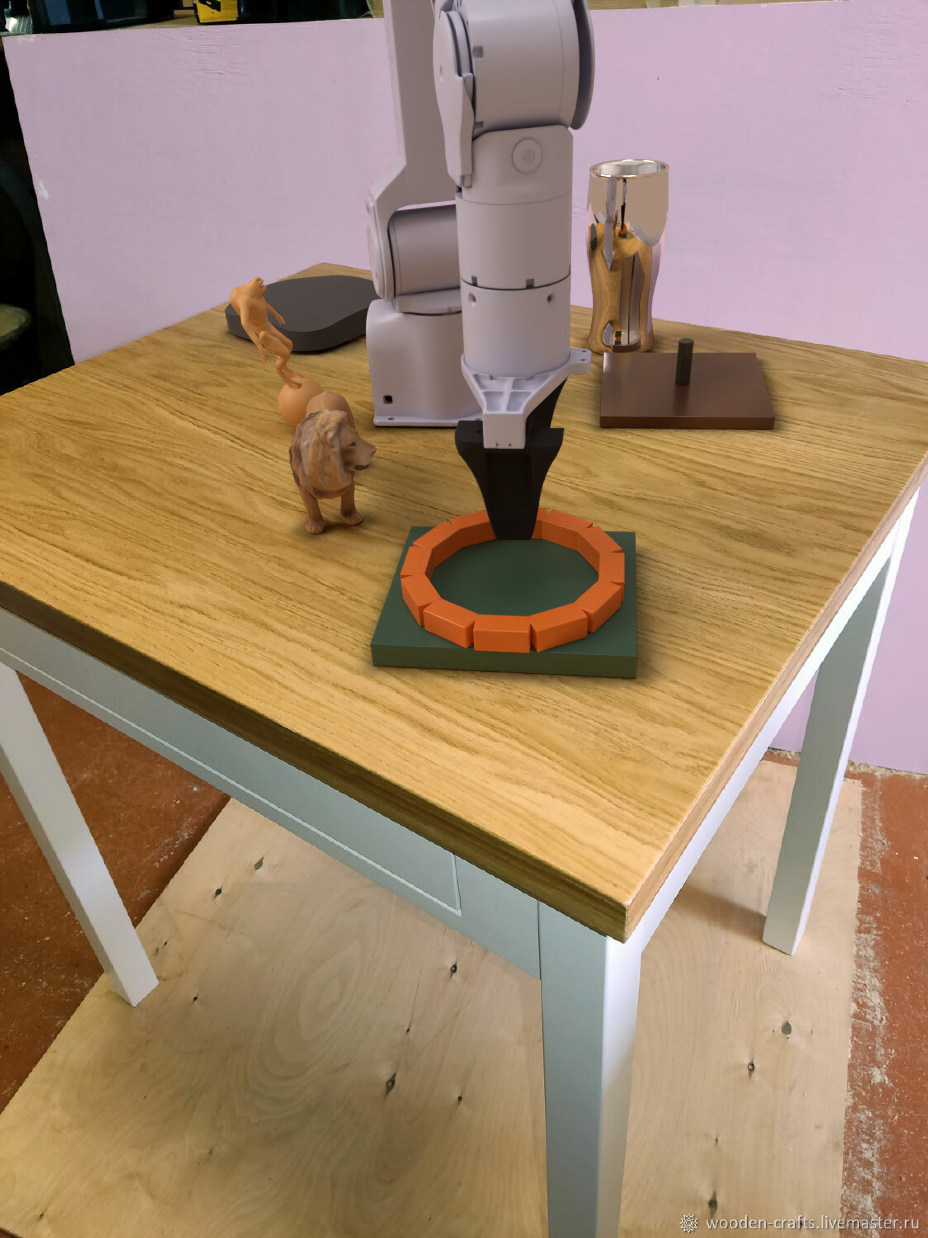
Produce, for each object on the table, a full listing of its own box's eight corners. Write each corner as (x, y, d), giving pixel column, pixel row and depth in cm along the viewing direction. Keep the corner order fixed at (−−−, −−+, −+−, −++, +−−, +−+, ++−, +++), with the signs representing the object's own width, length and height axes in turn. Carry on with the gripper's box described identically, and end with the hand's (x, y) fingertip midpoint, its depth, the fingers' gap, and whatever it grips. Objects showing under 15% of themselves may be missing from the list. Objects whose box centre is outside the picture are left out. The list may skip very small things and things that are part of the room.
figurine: (327, 447, 70) (302, 290, 63) (250, 453, 70) (215, 297, 63) (335, 403, 77) (313, 256, 70) (264, 408, 77) (235, 262, 70)
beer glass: (670, 337, 85) (685, 160, 76) (640, 363, 80) (651, 178, 71) (602, 326, 88) (608, 156, 79) (569, 351, 83) (571, 173, 74)
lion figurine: (391, 549, 58) (375, 419, 53) (308, 563, 57) (283, 433, 52) (360, 450, 70) (344, 334, 64) (290, 460, 69) (268, 344, 64)
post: (599, 427, 71) (601, 372, 68) (603, 363, 81) (604, 312, 78) (773, 429, 69) (782, 372, 66) (754, 363, 79) (761, 311, 76)
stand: (373, 665, 49) (369, 644, 48) (413, 545, 58) (411, 525, 58) (636, 678, 47) (637, 656, 46) (634, 551, 56) (635, 531, 56)
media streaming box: (312, 361, 85) (306, 329, 83) (213, 333, 93) (206, 303, 91) (414, 314, 94) (412, 284, 92) (316, 292, 101) (312, 264, 100)
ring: (623, 657, 46) (624, 636, 45) (385, 647, 48) (382, 626, 47) (623, 529, 56) (624, 509, 55) (425, 524, 58) (423, 504, 57)
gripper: (589, 322, 40) (581, 572, 49) (597, 232, 52) (590, 447, 60) (433, 322, 41) (452, 568, 50) (474, 234, 53) (484, 446, 61)
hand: (519, 502), depth 55 cm, fingers open, 7 cm apart
